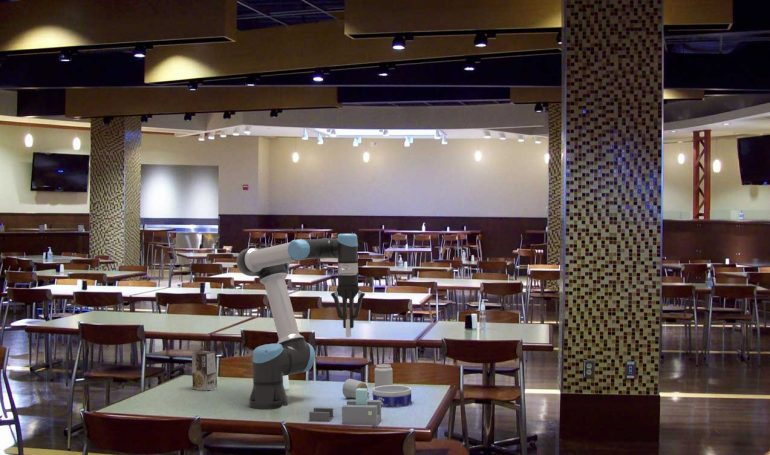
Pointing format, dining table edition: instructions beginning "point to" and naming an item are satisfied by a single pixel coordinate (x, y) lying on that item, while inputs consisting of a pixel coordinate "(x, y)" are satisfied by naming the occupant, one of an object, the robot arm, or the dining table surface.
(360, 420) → the port
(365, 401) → the plug
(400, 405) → the dog bowl
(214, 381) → the coffee box
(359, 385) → the ceramic mug
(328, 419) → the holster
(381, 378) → the can
